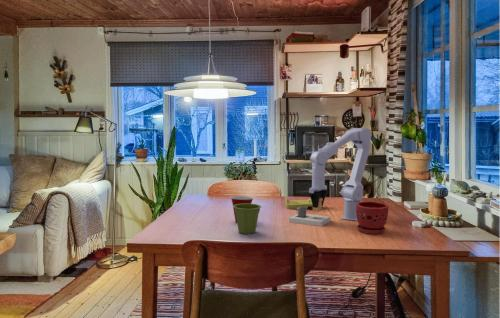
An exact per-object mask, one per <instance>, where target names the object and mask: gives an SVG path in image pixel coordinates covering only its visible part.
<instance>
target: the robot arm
mask: <svg viewBox="0 0 500 318" xmlns="http://www.w3.org/2000/svg"><path fill="white" fill-rule="evenodd" d="M371 139H372V133H371V131H370V130H369V128H367V127H359V128H358V127H351V128H349V129H347V130H346V132H345V133H344V134H343V135H342V136H340V137H339V138H338V139H336V140H335V141H334V142H331V141H330V142H327V143H325V145H324V146H322V147H321V148H318V150H317V151H313V152H311V155H310V157H309V161H310V163H311V168H312V169H311V171H312V172H311V187H310V188H308V196H309V198H311V200H312V205H313V207H314V208H318V204H319V198H320V197H322V198H323V201H322V205H321V207H323V206H324V203H325V199H326V196H327V194H328V193H329V191H328V190H327V189H328V186H327V185H325V183H326V182H325V181H326V179H325V178H326V177H325V172H326V170H325V169H326V164H327V163H328V160H329V159H330V158H331V157H333V156H334V155H335V154H337V153H338V152H339V149H340V148H341V147H343V146H345V145H346V144H348V143H350V142H352V143H353V144H354V145H355V146H356V148H357V151H356V155H355V158H354V162H353V166H352V168H351V172H350V176H349V179H348V180H346V181H345V183H344V186H343V187H342V188H341V191H340V194H341V196H342V198H343V216H341V218H340V219H341V220H347V221H356V222H358V221H357V216H356V204H357V203H359V202H362V201H361V200H362V199H363V197H364V185H363V184H362V179H363V176H364V175H363V174H364V171H365V169H366V165H367V161H368V158H369V154H370V149H371ZM363 215H365V214H363Z"/></svg>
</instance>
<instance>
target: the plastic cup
mask: <svg viewBox="0 0 500 318" xmlns="http://www.w3.org/2000/svg"><path fill="white" fill-rule="evenodd" d="M230 199H231V202H232V203H231V204H232V209H233V215H234V219H235V223H236V222H237V217H236V213H235V208H234V207H233V206H234V205H236V204H253V200H254V197H252V196H245V195H244V196H242V195H239V196H238V195H236V196H235V195H233V196H230Z"/></svg>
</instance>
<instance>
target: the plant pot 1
mask: <svg viewBox="0 0 500 318" xmlns="http://www.w3.org/2000/svg"><path fill="white" fill-rule="evenodd" d="M233 207H234V208H235V213H236V217H237V231H238V233H240V234H244V235H245V234H246V235H251V234H255V233H256V232H257V231H256V230H257V225H258V221H259V214H260V210H261V208H262V206H261V205H260V204H256V203H251V204H236V205H234V206H233V205H232V208H233Z"/></svg>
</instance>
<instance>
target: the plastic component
mask: <svg viewBox="0 0 500 318" xmlns="http://www.w3.org/2000/svg"><path fill="white" fill-rule="evenodd" d="M298 207H305V208H307V209H309V207H311V208H312V209H313V205H312V200H311V198H310V197H309V198H308V199H298V200H297V199H295V200H293V199H292V200H289V198H288V195H287V196H285V208H286V209H289V210H297V208H298Z"/></svg>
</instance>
